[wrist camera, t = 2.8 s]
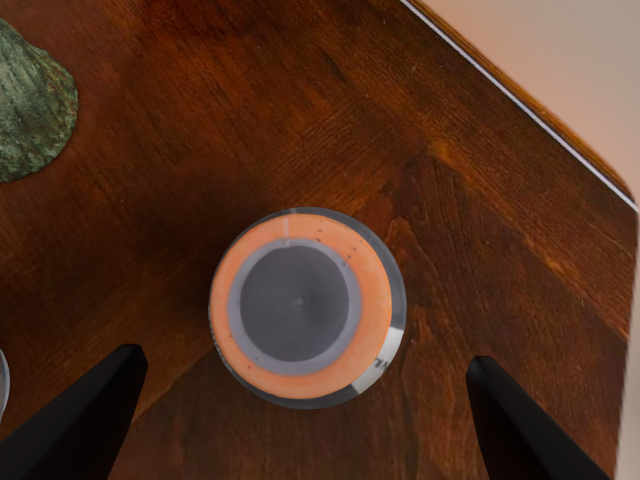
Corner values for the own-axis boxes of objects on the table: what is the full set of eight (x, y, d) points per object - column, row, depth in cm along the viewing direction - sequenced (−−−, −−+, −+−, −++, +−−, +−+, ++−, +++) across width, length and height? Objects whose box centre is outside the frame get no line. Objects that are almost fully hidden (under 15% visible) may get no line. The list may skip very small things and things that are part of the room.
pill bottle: (394, 318, 18) (502, 340, 7) (301, 386, 18) (259, 529, 6) (328, 228, 19) (332, 121, 8) (239, 290, 18) (108, 269, 7)
